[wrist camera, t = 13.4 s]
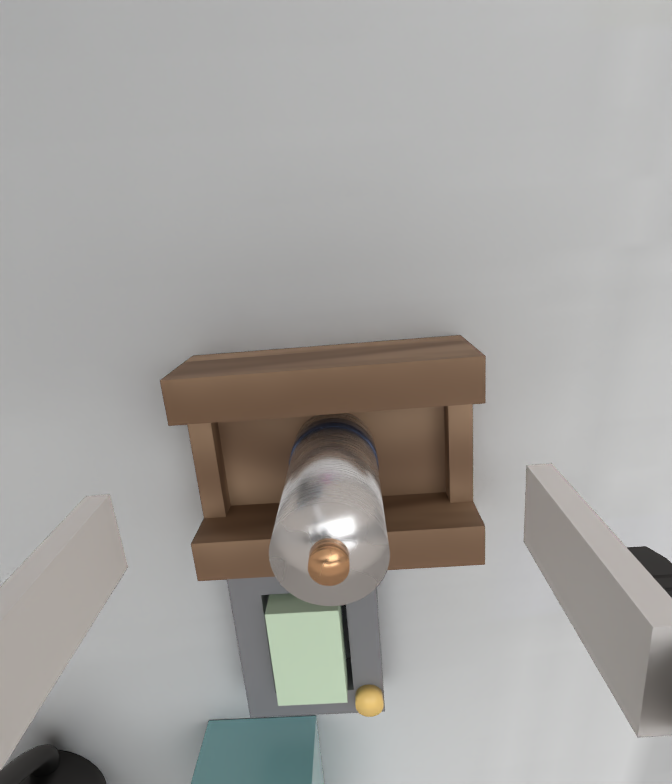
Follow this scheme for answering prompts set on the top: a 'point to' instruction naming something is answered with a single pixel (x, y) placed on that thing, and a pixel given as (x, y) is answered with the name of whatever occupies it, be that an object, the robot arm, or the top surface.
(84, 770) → the mug
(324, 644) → the pale green block
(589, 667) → the top surface
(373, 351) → the trough
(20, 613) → the robot arm
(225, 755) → the teal open bin
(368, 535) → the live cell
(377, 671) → the frame
